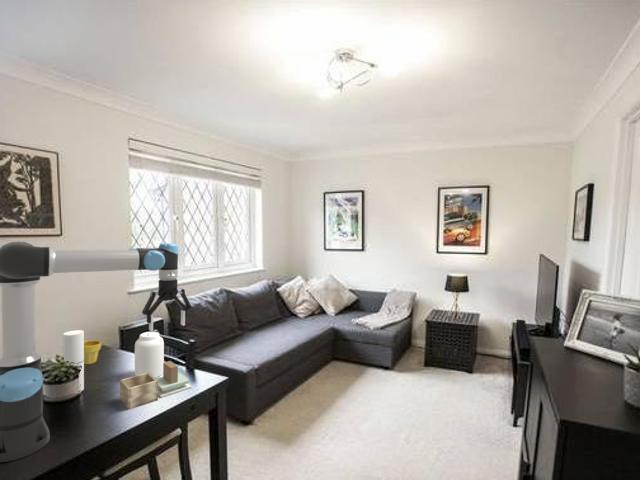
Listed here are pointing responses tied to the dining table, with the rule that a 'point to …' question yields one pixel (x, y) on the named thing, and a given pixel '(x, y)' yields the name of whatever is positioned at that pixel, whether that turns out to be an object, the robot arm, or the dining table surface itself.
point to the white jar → (149, 354)
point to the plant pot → (91, 351)
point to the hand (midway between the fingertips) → (167, 327)
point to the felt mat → (173, 391)
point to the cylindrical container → (74, 350)
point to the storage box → (138, 390)
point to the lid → (171, 378)
